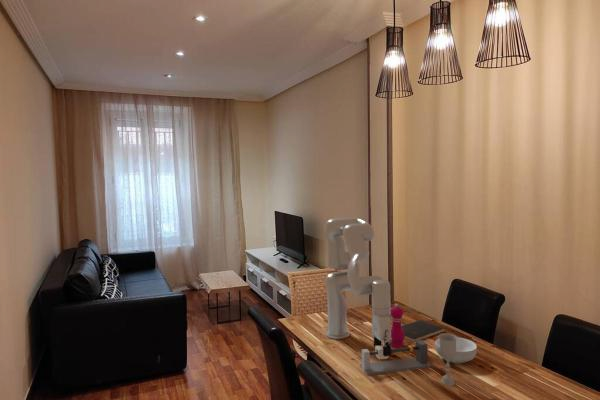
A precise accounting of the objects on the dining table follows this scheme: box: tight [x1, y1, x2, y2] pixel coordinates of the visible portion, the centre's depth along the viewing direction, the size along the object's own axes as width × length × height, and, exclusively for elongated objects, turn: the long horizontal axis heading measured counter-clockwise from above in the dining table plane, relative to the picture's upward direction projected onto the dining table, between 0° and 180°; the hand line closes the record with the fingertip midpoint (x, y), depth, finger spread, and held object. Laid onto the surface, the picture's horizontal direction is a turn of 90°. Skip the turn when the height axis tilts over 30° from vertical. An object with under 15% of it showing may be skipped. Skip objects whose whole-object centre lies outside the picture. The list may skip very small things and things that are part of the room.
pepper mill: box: [390, 303, 405, 349], centre depth 196 cm, size 7×7×20 cm
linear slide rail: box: [359, 339, 432, 376], centre depth 175 cm, size 8×28×9 cm, turn 102°
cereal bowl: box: [434, 336, 478, 365], centre depth 181 cm, size 17×17×7 cm
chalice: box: [438, 332, 458, 387], centre depth 161 cm, size 7×7×18 cm
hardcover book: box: [401, 319, 445, 343], centre depth 213 cm, size 16×23×2 cm
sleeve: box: [374, 344, 389, 360], centre depth 174 cm, size 4×4×4 cm
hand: (382, 351), depth 173 cm, fingers open, 9 cm apart
